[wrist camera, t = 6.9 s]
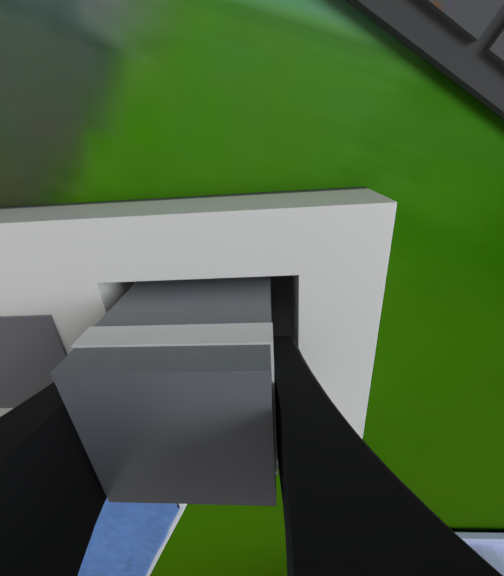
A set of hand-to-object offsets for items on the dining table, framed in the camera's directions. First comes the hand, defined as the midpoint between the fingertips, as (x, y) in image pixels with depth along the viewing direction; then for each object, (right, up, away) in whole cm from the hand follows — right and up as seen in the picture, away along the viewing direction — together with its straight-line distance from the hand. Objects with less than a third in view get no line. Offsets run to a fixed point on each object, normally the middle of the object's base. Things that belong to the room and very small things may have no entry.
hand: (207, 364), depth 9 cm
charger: (0, +1, +2) cm, 2 cm away
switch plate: (-2, +1, +3) cm, 3 cm away
